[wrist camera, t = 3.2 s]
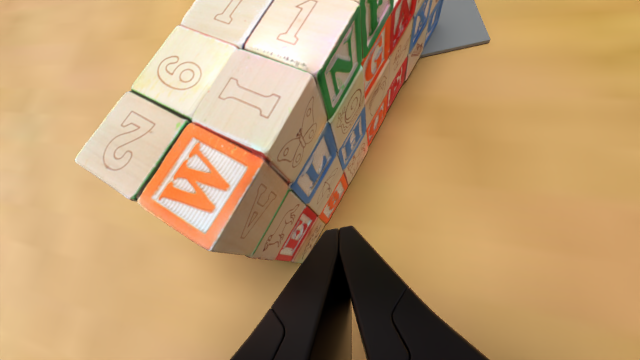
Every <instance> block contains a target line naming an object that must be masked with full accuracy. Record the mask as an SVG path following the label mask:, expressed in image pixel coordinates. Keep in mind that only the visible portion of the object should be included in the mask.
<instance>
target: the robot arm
mask: <svg viewBox="0 0 640 360" xmlns="http://www.w3.org/2000/svg"><path fill="white" fill-rule="evenodd" d="M351 301H352V305H353V309H354V313H355V317H356V321H357V324H358V328H359V332H360V336H361V340H362V343H363V347H364V351H365V355H366V359H367V360H489V359H488V358H487V357H486V356H485V355H483V354H482V353H481V352H480V351H479V350H477V349H476V348H475V347H474V346H473V345H471V344H470V343H469V342H468V341H467V340H465V339H464V338H463V337H462V336H461V335H460V334H458V333H457V332H456V331H455V330H454V329H452V328H451V327H450V326H449V325H448V324H447V323H445V322H444V321H443V320H442V319H441V318H440V317H439V316H437V315H436V314H435V313H434V312H433V311H432V310H431V309H430V308H429V307H428V306H427V305H426V304H425V303H424V302H423V301H422V300H421V299H420V298H419V297H418V296H417V295H416V294H415V293H414V292H413V290H412V289H411V288H409V286H408V285H407V284H406V283H405V282H404V281H403V280H402V279H401V278H400V277H399V275H398V274H397V273H396V272H395V271H394V270H393V269H392V268H391V267H390V266H389V265H388V264H387V262H386V261H385V260H384V259H383V258H382V257H381V256H380V255H379V254H378V253H377V252H376V251H375V249H374V248H373V247H372V246H371V245H370V244H369V243H368V242H367V241H366V240H365V239H364V238H363V236H362V235H361V234H360V233H359V232H358V231H357V230H356V229H355V228H354V227H353V226H348V227H342V228H340V229H331V230H326V231H325V232H324V233H323V235H322V236H321V237H320V239H319V240H318V242H317V243H316V244H315V246H314V247H313V249H312V250H311V252H310V253H309V254H308V256H307V257H306V259H305V260H304V261H303V263H302V264H301V266H300V267H299V268H298V270H297V271H296V273H295V274H294V275H293V277H292V278H291V280H290V281H289V282H288V284H287V285H286V287H285V288H284V289H283V291H282V292H281V294H280V295H279V297H278V298H277V299H276V301H275V302H274V304H273V305H272V306H271V309H269V310H268V312H267V313H266V315H265V316H264V317H263V319H262V320H261V322H260V323H259V324H258V325H257V327H256V328H255V329H254V331H253V332H252V333H251V335H250V336H249V337H248V339H247V340H246V341H245V342H244V343H243V345H242V346H241V347H240V348H239V349H238V351H237V352H236V353H235V354H234V355H233V357H232V358H231V359H230V360H352V307H351Z"/></svg>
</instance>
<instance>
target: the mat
mask: <svg viewBox="0 0 640 360" xmlns="http://www.w3.org/2000/svg"><path fill="white" fill-rule="evenodd" d="M489 41H490V37H489V35H488V33H487V30H486V28H485V25H484V23H483V21H482V18H481V16H480V14H479V11H478V9H477V6H476V4H475V2H474V0H444V1H443V5H442V8H441V13H440V17H439V21H438V23H437V25H436V27H435V29H434V31H433V32H432V34H431V36H430V38H429V40H428V41H427V43H426V45H425V47H424V48H423V51H422V53H421V55H420V57H419V58H421V57H426V56H430V55H435V54H439V53H444V52H448V51H453V50H457V49H462V48H467V47H471V46H476V45H480V44H485V43H489Z"/></svg>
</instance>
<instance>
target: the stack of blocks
mask: <svg viewBox="0 0 640 360" xmlns="http://www.w3.org/2000/svg"><path fill="white" fill-rule="evenodd" d="M443 1H444V0H196V1H195V2H194V3H193V4H192V5H191V7H190V8H189V10H188V11H187V13H186V14H185V16H184V17H183V19H182V21H181V24H180V25H178V26H177V27H176V28H175V29H174V30H173V31H172V32H171V34H170V35H169V36H168V38H167V39H166V41H165V42H164V43H163V45H162V46H161V47H160V49H159V50H158V51H157V53H156V54H155V55H154V57H153V58H152V59H151V60H150V62H149V63H148V64H147V66H146V67H145V68H144V70H143V71H142V72H141V74H140V75H139V77H138V78H137V79H136V81H135V82H134V83H133V85H132V87H131V90H132V91H129V92H126V93H125V94H124V95H123V96H122V97H121V98H120V99H119V100H118V101H117V103H116V104H115V106H114V107H113V108H112V110H111V111H110V112H109V114H108V115H107V116H106V118H105V119H104V120H103V122H102V123H101V124H100V126H99V127H98V128H97V129H96V131H95V132H94V133H93V135H92V136H91V137H90V138H89V140H88V141H87V142H86V144H85V145H84V146H83V147H82V149H81V150H80V151H79V152H78V154H77V156H76V158H75V162H76V163H77V164H79V165H80V166H82V167H83V168H85V169H86V170H88V171H89V172H90V173H92V174H93V175H95V176H96V177H98V178H99V179H101V180H102V181H103V182H105V183H106V184H108V185H109V186H111V187H112V188H113V189H115V190H116V191H118V192H119V193H120V194H122V195H123V196H125V197H126V198H128V199H130V200H132V201H136V202H137V203H138V204H139V205H140V206H141V207H142V208H144V209H145V210H146V211H148V212H149V213H151V214H152V215H154V216H155V217H157V218H158V219H160V220H161V221H163V222H164V223H166V224H167V225H169V226H170V227H172V228H173V229H175V230H176V231H178V232H179V233H181V234H182V235H184V236H185V237H187V238H188V239H190V240H191V241H193V242H194V243H196V244H197V245H199V246H201V247H202V248H204V249H206V250H208V251H212V252H220V253H229V254H238V255H245V256H247V257H249V258H258V259H265V260H281V261H291V262H296V263H303V261H304V260H305V259H306V257H307V256H308V254H309V253H310V251H311V249H312V247H313V246H314V244H315V242H316V240H317V239H318V237H319V235H320V233H321V232H322V230H323V228H324V226H325V224H327V223H328V222H329V220H330V218H331V216H332V214H333V213H334V211H335V209H336V207H337V205H338V204H339V202H340V200H341V198H342V196H343V195H344V193H345V191H346V189H347V187H348V185H349V184H350V182H351V180H352V179H353V177H354V175H355V174H356V172H357V170H358V168H359V166H360V165H361V163H362V161H363V159H364V157H365V155H366V154H367V152H368V146H369V145H370V144H371V142H372V140H373V138H374V136H375V134H376V132H377V131H378V129H379V127H380V125H381V123H382V122H383V120H384V118H385V116H386V112H387V111H388V109H389V107H390V106H391V104H392V102H393V100H394V99H395V97H396V95H397V93H398V91H399V89H400V88H401V86H402V84H403V82H404V81H406V80H407V78H408V76H409V75H410V73H411V71H412V69H413V68H414V66H415V64H416V62H417V60H418V59H419V57H420V55H421V53H422V51H423V48H424V47H425V45H426V43H427V41H428V40H429V38H430V36H431V34H432V32H433V31H434V29H435V27H436V25H437V23H438V21H439V17H440V13H441V8H442V5H443Z"/></svg>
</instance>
